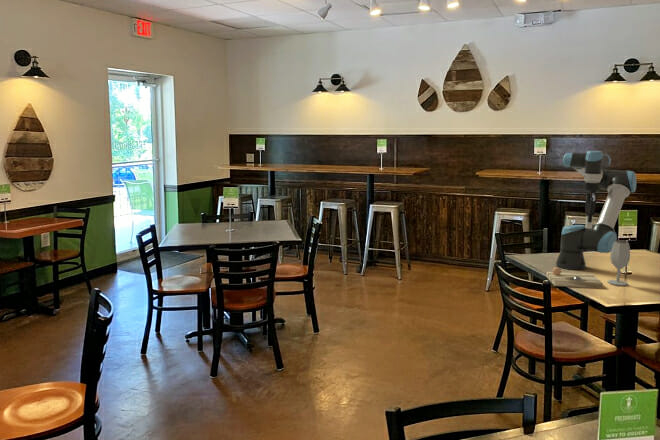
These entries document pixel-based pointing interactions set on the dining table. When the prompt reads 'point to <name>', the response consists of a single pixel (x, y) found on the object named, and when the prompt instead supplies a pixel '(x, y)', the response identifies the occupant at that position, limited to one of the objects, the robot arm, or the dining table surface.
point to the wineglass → (619, 259)
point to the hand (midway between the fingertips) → (588, 228)
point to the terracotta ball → (556, 270)
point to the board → (567, 280)
